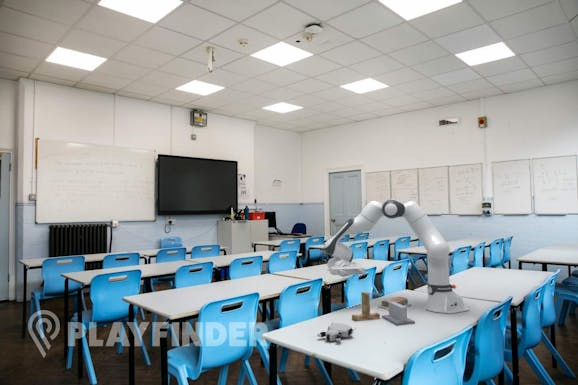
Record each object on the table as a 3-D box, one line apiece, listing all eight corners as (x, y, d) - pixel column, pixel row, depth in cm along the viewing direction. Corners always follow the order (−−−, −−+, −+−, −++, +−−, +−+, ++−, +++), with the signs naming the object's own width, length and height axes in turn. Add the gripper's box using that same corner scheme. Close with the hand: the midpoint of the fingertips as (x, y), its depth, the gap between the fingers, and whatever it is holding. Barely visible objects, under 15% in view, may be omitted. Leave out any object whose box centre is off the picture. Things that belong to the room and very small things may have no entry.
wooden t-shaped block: (377, 317, 200) (376, 291, 201) (379, 319, 197) (379, 292, 198) (352, 319, 197) (351, 293, 197) (354, 321, 194) (354, 294, 194)
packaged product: (396, 295, 232) (411, 298, 224) (396, 303, 232) (411, 306, 224) (377, 299, 221) (391, 302, 213) (377, 308, 221) (391, 311, 213)
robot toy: (340, 347, 160) (357, 335, 172) (339, 337, 160) (357, 325, 171) (315, 341, 167) (333, 330, 179) (315, 331, 167) (333, 320, 179)
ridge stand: (399, 316, 202) (398, 300, 202) (414, 323, 189) (414, 307, 189) (381, 317, 199) (381, 302, 200) (396, 325, 186) (395, 308, 186)
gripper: (326, 263, 221) (336, 267, 208) (358, 262, 227) (370, 266, 214) (326, 274, 221) (335, 279, 208) (358, 273, 227) (370, 278, 214)
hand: (353, 272), depth 211 cm, fingers open, 8 cm apart
